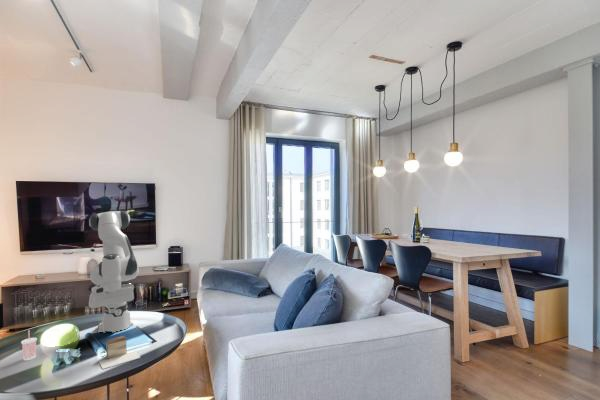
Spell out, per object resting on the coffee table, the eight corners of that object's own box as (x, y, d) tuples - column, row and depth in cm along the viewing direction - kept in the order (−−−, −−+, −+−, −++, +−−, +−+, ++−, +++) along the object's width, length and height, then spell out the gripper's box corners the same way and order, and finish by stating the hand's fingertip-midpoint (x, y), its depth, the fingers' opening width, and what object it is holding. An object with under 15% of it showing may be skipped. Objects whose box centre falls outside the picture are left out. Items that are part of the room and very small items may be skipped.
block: (106, 356, 163) (106, 340, 163) (124, 351, 168) (124, 335, 168) (108, 359, 159) (108, 342, 159) (126, 354, 164) (126, 338, 164)
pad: (99, 362, 156) (99, 361, 156) (135, 351, 167) (135, 351, 167) (102, 369, 149) (102, 368, 149) (140, 357, 160) (140, 357, 160)
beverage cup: (18, 361, 159) (17, 332, 159) (26, 356, 165) (25, 328, 165) (32, 360, 160) (32, 331, 160) (40, 354, 166) (39, 327, 166)
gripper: (132, 281, 179) (132, 306, 179) (87, 288, 165) (88, 316, 165) (135, 283, 174) (135, 309, 174) (89, 291, 161) (90, 319, 161)
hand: (112, 312), depth 170 cm, fingers closed
